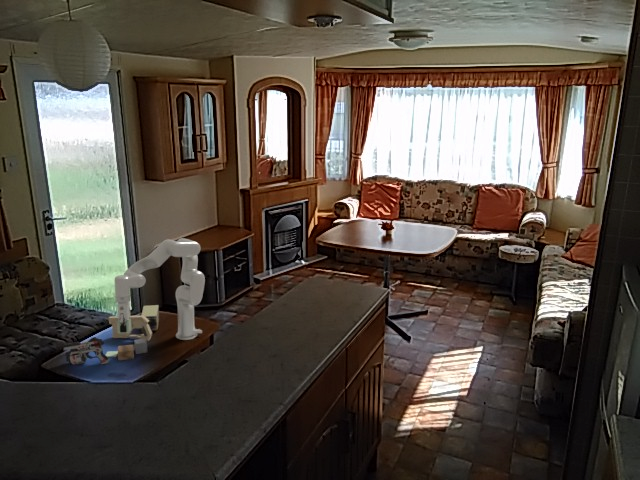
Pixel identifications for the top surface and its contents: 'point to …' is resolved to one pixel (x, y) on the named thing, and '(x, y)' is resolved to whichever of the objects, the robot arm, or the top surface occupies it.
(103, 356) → the toy blaster
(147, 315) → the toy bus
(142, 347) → the grey cube
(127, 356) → the walnut base
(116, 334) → the gun
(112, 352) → the sage tile
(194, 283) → the robot arm
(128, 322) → the sage cube
